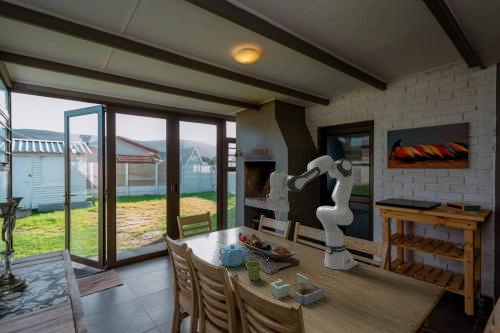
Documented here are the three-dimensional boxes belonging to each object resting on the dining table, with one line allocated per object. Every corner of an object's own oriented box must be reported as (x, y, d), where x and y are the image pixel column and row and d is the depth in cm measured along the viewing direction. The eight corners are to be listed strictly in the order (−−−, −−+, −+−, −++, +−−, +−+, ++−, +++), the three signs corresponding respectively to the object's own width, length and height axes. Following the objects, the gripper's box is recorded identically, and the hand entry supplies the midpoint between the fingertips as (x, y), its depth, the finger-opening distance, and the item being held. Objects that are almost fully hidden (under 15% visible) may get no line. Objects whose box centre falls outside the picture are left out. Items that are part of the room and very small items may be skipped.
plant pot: (248, 283, 144) (248, 268, 144) (244, 276, 153) (244, 262, 153) (263, 280, 146) (263, 265, 146) (259, 274, 155) (258, 260, 155)
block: (308, 294, 130) (307, 282, 130) (311, 300, 124) (311, 288, 124) (296, 294, 129) (296, 283, 129) (299, 300, 123) (299, 288, 123)
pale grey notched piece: (298, 281, 144) (298, 272, 144) (309, 287, 136) (309, 278, 136) (268, 291, 133) (268, 282, 133) (278, 299, 125) (278, 289, 125)
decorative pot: (225, 271, 162) (224, 250, 162) (218, 262, 176) (217, 243, 176) (248, 266, 168) (247, 246, 168) (239, 258, 183) (238, 240, 183)
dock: (316, 291, 132) (316, 284, 132) (325, 297, 126) (325, 289, 126) (294, 300, 124) (294, 292, 124) (303, 306, 119) (302, 297, 119)
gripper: (291, 197, 153) (292, 219, 153) (272, 194, 171) (272, 214, 171) (283, 198, 150) (283, 220, 150) (264, 195, 168) (265, 215, 168)
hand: (277, 217), depth 160 cm, fingers closed
